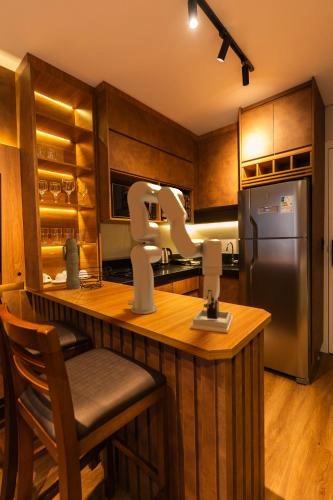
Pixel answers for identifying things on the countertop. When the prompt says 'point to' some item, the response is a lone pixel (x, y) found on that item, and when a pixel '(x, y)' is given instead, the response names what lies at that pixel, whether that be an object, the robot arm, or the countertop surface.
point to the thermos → (71, 263)
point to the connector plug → (216, 309)
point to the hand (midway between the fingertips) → (212, 315)
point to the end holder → (212, 321)
